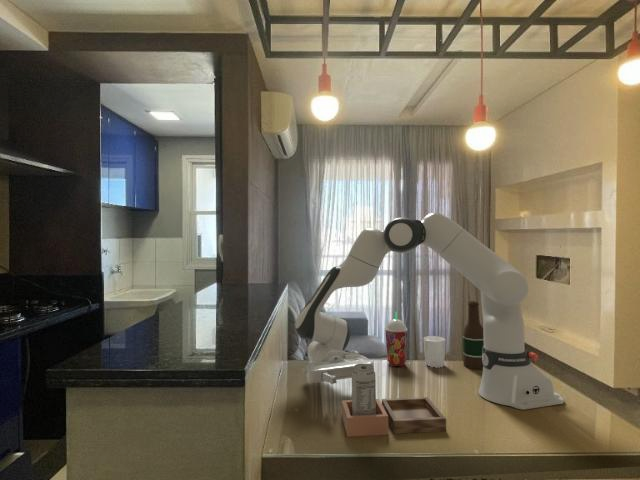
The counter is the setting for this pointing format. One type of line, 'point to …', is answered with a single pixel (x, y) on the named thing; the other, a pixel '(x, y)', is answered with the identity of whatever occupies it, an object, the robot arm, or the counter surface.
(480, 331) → the beer bottle
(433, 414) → the tray
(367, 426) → the holder
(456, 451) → the counter surface
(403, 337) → the smoothie
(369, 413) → the energy drink can
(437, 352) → the white cup
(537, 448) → the counter surface
